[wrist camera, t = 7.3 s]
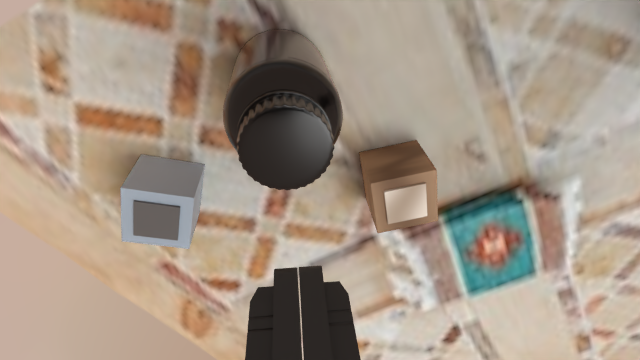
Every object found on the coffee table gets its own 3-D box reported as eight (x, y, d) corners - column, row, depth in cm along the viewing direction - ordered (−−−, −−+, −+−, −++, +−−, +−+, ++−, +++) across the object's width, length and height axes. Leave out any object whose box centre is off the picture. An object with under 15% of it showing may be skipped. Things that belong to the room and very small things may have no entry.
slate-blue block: (204, 163, 32) (193, 199, 28) (199, 210, 35) (188, 250, 30) (141, 153, 31) (119, 189, 27) (141, 203, 34) (120, 242, 29)
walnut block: (416, 139, 33) (437, 171, 28) (418, 186, 36) (438, 222, 31) (358, 151, 33) (371, 185, 29) (366, 198, 36) (378, 234, 31)
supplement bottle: (269, 132, 31) (264, 227, 21) (215, 59, 28) (179, 131, 18) (343, 89, 30) (376, 168, 20) (296, 7, 26) (308, 52, 16)
